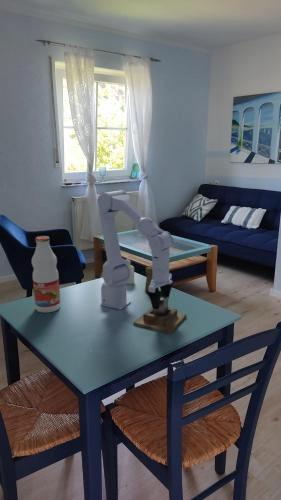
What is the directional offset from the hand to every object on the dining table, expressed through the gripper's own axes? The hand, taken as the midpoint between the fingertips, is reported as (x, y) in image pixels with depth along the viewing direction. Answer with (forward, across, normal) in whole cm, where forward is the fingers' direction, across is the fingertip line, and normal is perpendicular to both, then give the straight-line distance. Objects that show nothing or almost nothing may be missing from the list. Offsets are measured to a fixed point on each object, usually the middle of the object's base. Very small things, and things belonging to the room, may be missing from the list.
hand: (160, 304), depth 133 cm
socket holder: (+6, 0, 0) cm, 6 cm away
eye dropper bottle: (+7, +27, +29) cm, 40 cm away
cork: (+7, +23, +15) cm, 28 cm away
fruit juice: (+7, -10, +43) cm, 45 cm away
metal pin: (+5, 0, 0) cm, 5 cm away
